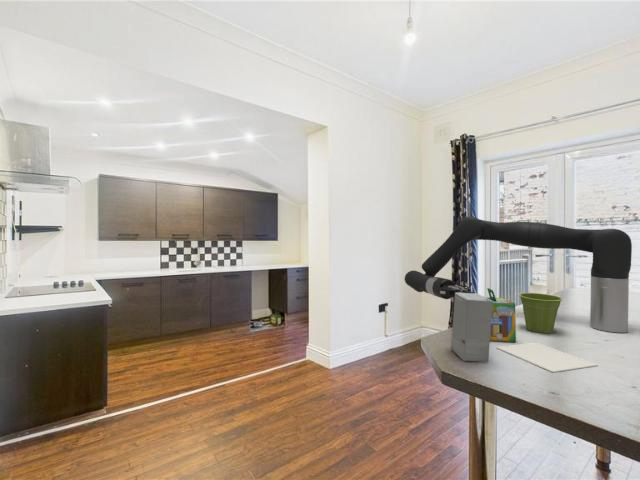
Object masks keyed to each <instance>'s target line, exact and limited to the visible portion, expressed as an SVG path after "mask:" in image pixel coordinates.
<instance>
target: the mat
mask: <svg viewBox="0 0 640 480" xmlns="http://www.w3.org/2000/svg"><path fill="white" fill-rule="evenodd" d="M495 348H496V349H497V350H500V351H501V352H504V353H506V354H508V355H510V356H513V357H515V358H517V359H520V360H522V361H525V362H527V363H529V364H531V365H534V366H535V367H538V368H541V369H543V370H546V371H548V372H550V373H551V374H552V373H554V374H555V373H561V372H567V371H575V370H581V369H588V368H594V367H595V368H596V367H599V365H598V364H597V363H593V362H591V361H588V360H586V359H582V358H580V357H577V356H575V355H572V354H569V353H566V352H563V351H561V350H558V349H555V348H552V347H549V346H547V345H544V344H542V343H538V342H530V343H529V342H528V343H519V344H518V343H517V344H511V345H510V344H509V345H502V346H495Z"/></svg>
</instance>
